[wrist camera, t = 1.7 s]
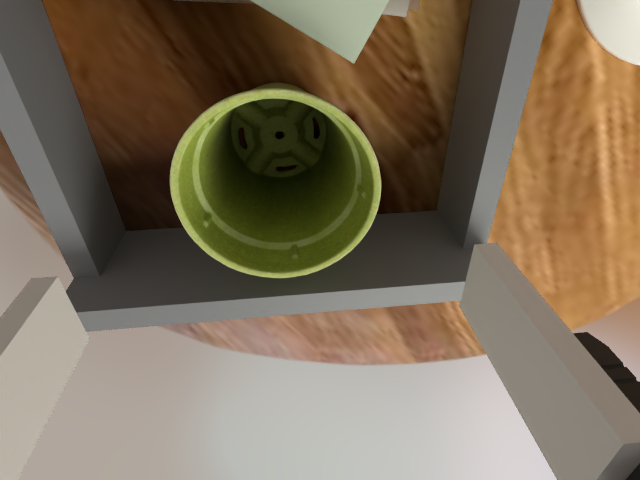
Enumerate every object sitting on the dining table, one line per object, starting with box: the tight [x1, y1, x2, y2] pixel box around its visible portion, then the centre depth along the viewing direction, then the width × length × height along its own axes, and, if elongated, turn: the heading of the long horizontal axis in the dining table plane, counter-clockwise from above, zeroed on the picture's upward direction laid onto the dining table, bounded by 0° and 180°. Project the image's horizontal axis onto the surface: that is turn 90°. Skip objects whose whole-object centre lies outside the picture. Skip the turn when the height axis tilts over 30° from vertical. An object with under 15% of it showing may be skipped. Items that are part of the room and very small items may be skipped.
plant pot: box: [170, 83, 381, 278], centre depth 21 cm, size 9×9×9 cm
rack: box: [0, 0, 553, 332], centre depth 20 cm, size 20×26×8 cm
